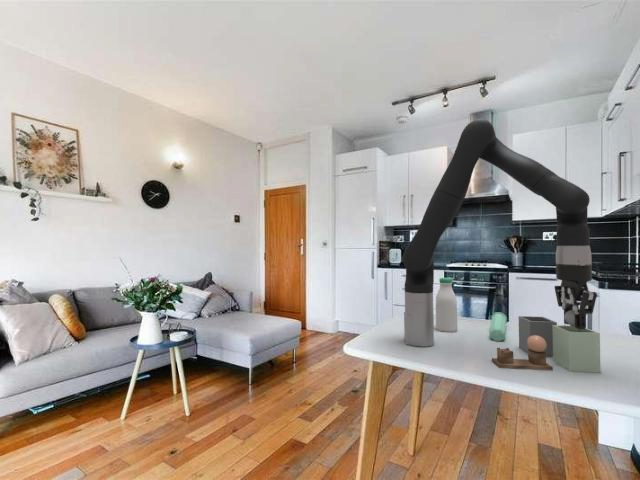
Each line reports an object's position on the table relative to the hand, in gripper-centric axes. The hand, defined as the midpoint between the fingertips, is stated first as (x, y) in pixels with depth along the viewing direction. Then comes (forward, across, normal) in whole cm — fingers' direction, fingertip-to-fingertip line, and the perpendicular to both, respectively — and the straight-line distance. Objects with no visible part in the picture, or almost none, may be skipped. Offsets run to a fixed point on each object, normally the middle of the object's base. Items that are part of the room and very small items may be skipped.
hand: (574, 326), depth 84 cm
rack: (+11, +1, -14) cm, 18 cm away
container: (+11, -32, -7) cm, 35 cm away
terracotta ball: (+5, +1, -10) cm, 11 cm away
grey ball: (-2, 0, 0) cm, 2 cm away
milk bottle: (+11, -34, -25) cm, 44 cm away
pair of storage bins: (+11, -6, -2) cm, 12 cm away
